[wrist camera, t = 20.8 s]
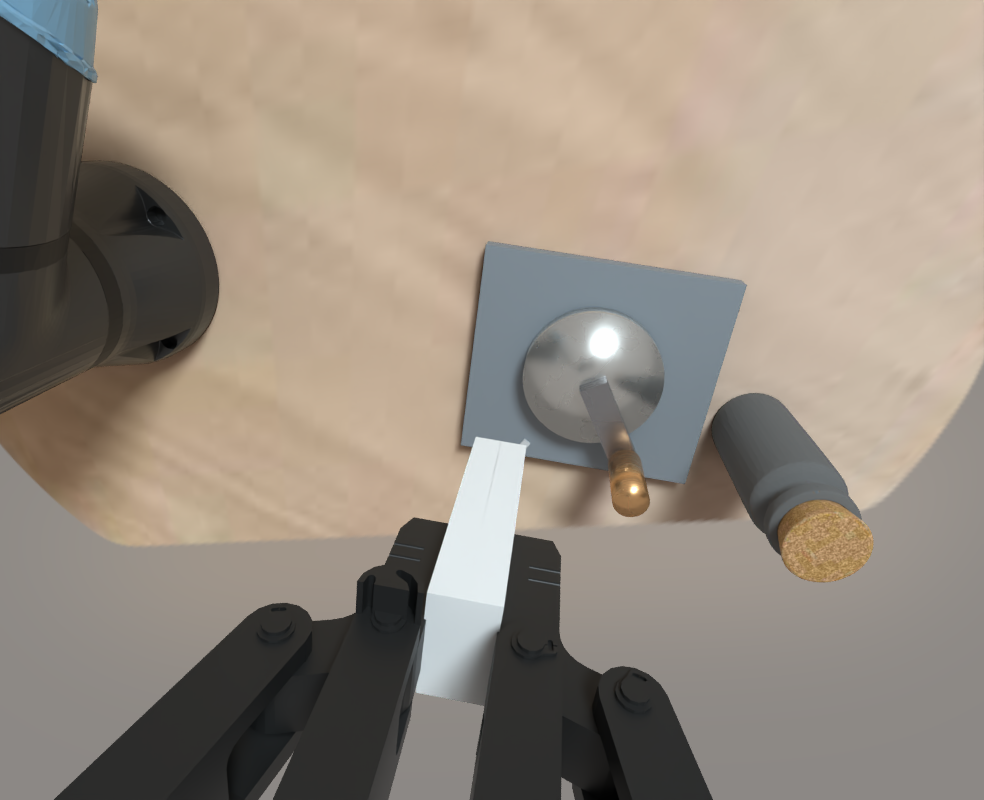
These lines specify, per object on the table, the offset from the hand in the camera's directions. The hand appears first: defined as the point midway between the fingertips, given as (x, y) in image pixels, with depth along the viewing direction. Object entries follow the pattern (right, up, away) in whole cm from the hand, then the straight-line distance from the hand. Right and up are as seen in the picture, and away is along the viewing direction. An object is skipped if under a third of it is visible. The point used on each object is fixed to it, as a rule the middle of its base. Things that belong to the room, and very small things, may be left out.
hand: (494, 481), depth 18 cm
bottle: (+20, 0, +29) cm, 35 cm away
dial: (+8, +4, +27) cm, 28 cm away
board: (+7, +5, +28) cm, 29 cm away
